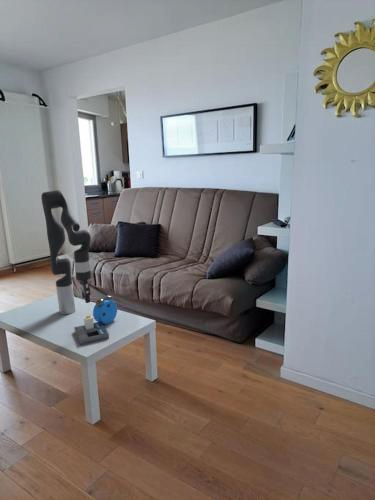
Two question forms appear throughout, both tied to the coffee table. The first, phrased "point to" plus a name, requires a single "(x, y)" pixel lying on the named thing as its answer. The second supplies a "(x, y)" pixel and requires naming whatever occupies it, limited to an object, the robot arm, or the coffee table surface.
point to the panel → (91, 333)
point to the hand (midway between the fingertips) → (86, 300)
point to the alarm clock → (105, 310)
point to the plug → (88, 322)
